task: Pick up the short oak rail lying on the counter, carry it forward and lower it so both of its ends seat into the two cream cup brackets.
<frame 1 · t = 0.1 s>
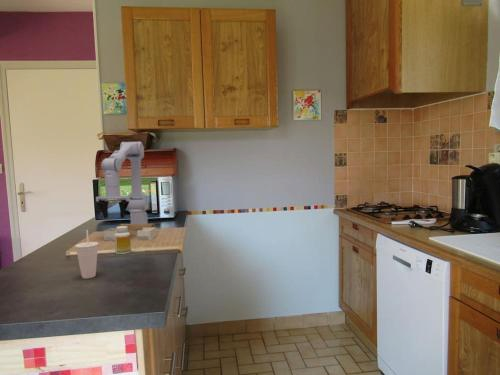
hand: (114, 217, 149), 10 cm above the worktop, tool pointing down, fingers open, 7 cm apart
smoothie: (88, 277, 103), on the worktop
supplement bottle: (123, 253, 130), on the worktop
cup bracket b: (146, 238, 154), on the worktop
cup bracket a: (115, 238, 155), on the worktop
oak rail: (136, 235, 161), on the worktop
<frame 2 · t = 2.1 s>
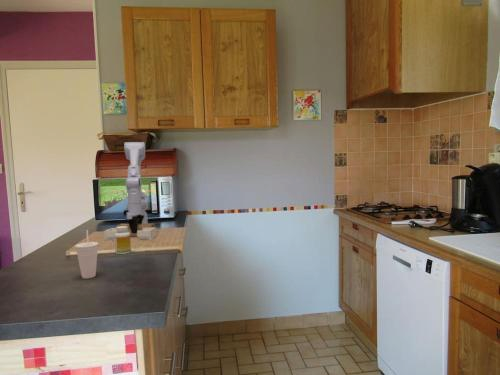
hand: (136, 232, 161), 1 cm above the worktop, tool pointing down, fingers closed on oak rail, 4 cm apart
oak rail: (136, 235, 161), on the worktop, touching gripper
everything else where it was.
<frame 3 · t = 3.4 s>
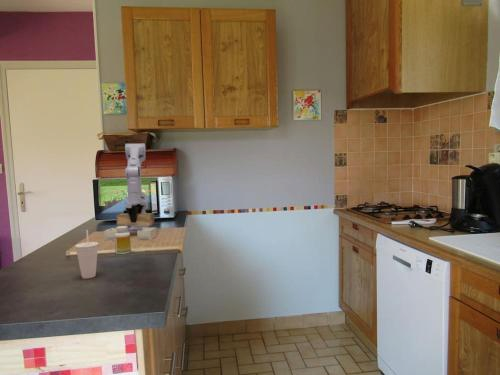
hand: (135, 221, 161), 6 cm above the worktop, tool pointing down, fingers closed on oak rail, 4 cm apart
oak rail: (135, 224, 161), point 5 cm above the worktop, touching gripper
everything else where it was.
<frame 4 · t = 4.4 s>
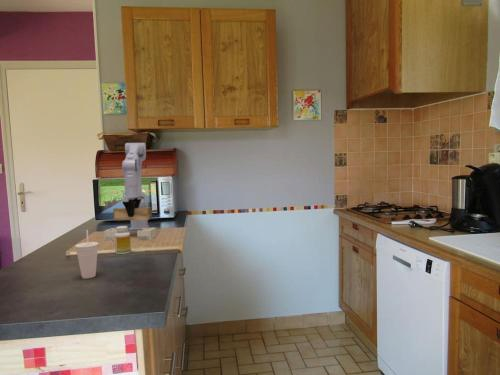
hand: (132, 215, 157), 9 cm above the worktop, tool pointing down, fingers closed on oak rail, 4 cm apart
oak rail: (133, 219, 158), point 8 cm above the worktop, touching gripper
everything else where it was.
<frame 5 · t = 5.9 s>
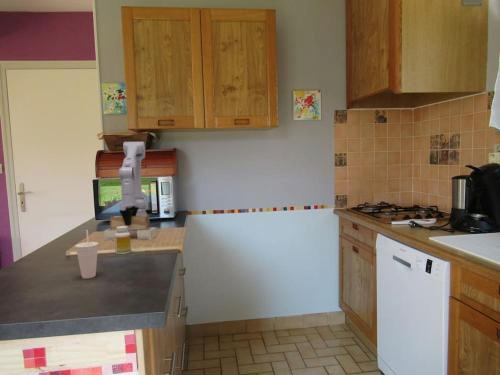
hand: (130, 224, 154), 6 cm above the worktop, tool pointing down, fingers closed on oak rail, 4 cm apart
oak rail: (130, 227, 154), point 5 cm above the worktop, touching gripper
everything else where it was.
when the fingers open (4 cm above the worktop, at t = 6.9 s): oak rail stays where it is, resting on cup bracket a, cup bracket b.
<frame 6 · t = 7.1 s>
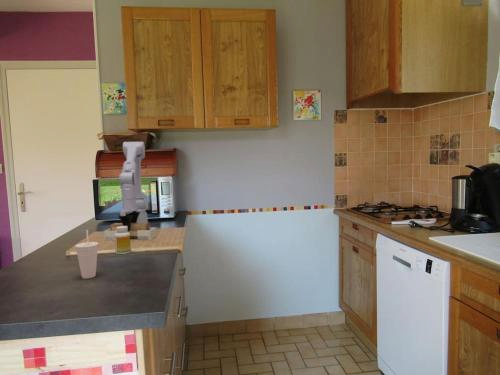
hand: (130, 229, 154), 4 cm above the worktop, tool pointing down, fingers open, 6 cm apart
oak rail: (130, 234, 155), point 1 cm above the worktop, touching cup bracket a, cup bracket b
everything else where it was.
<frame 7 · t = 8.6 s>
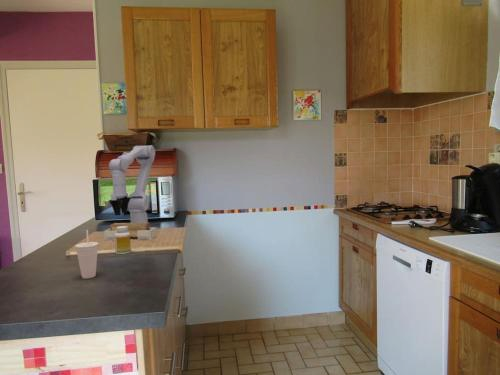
hand: (121, 213, 162), 10 cm above the worktop, tool pointing down, fingers open, 7 cm apart
nothing on the worktop moved.
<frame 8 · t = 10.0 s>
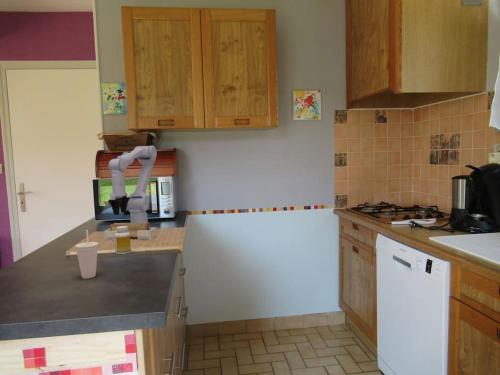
hand: (120, 213, 163), 10 cm above the worktop, tool pointing down, fingers open, 7 cm apart
nothing on the worktop moved.
at the end: oak rail 0.0 cm from the target spot, point 1.5 cm above the worktop; oak rail touching cup bracket a, cup bracket b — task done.
